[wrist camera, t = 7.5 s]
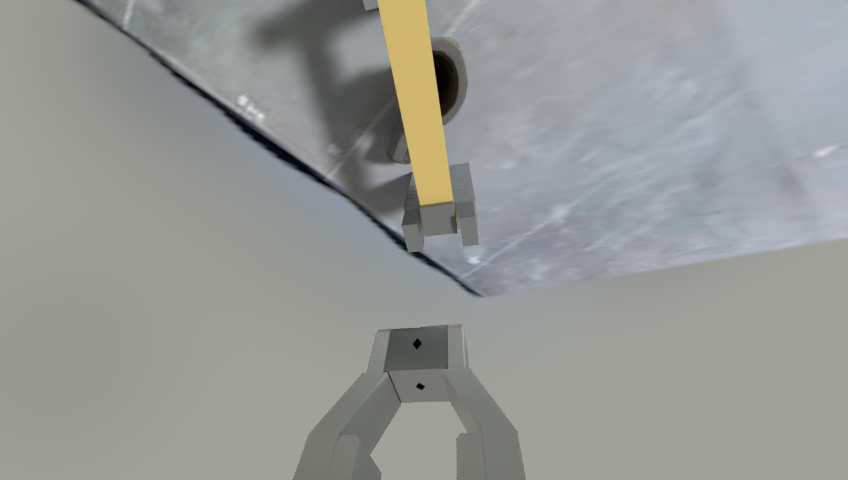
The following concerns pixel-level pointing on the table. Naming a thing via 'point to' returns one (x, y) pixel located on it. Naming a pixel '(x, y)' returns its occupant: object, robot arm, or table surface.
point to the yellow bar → (420, 109)
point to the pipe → (449, 91)
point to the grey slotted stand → (370, 5)
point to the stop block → (462, 205)
